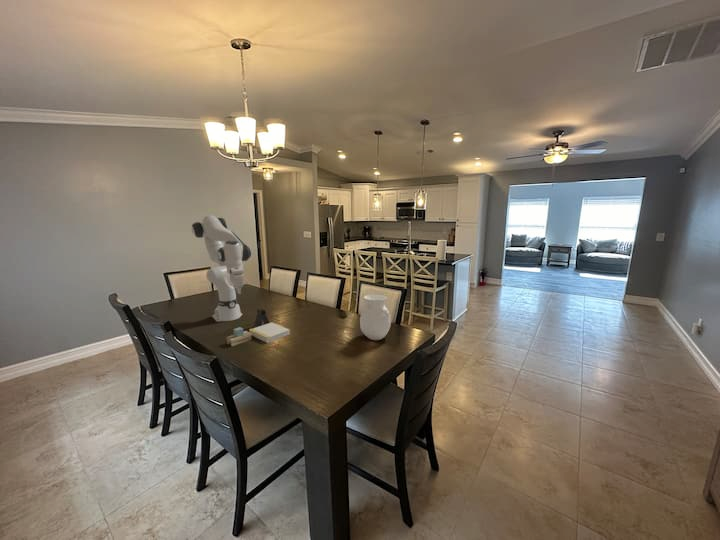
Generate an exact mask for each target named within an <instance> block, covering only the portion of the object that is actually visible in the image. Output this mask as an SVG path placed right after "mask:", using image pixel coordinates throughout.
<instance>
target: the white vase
mask: <svg viewBox="0 0 720 540" xmlns="http://www.w3.org/2000/svg"><path fill="white" fill-rule="evenodd" d="M363 301H364V302H365V303H364V305H363V310H362V311H361V313H360V318H359V323H360V324H359V325H360V326H359V327H360V330H361V332H362V333H363V335H364V336H366V337H367V338H368V339H369V340H372V341H379V340H382V339H384V338H385V337H386V336H387V334H388V332H389V331H390V329H391V325H392V318H391V315H390V311H389V308H388V307H386V303H387V296H386V295H384V294H378V293H371V294H365V295H364V296H363Z"/></svg>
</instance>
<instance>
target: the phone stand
mask: <svg viewBox="0 0 720 540" xmlns="http://www.w3.org/2000/svg"><path fill="white" fill-rule="evenodd" d="M256 312H257V313H256V318H255V322H254V325H253V326H254V328H256V327H259V326H262V325H265V324H268V323H271V322H270V321H269V319H268V316H267V314H266V313H267V312H266V310H264V309H262V308H257V310H256ZM262 323H263V324H262Z"/></svg>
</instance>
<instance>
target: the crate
mask: <svg viewBox="0 0 720 540" xmlns="http://www.w3.org/2000/svg"><path fill="white" fill-rule="evenodd" d="M244 331H245V329H244V328H243V327H240V326H238V327H237V328H233V335H234V336H236V337H240V336H243V335H244Z"/></svg>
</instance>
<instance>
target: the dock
mask: <svg viewBox="0 0 720 540" xmlns="http://www.w3.org/2000/svg"><path fill="white" fill-rule="evenodd" d="M261 325H262V324H261ZM248 332H249V333H251V337H254V338H256V339H258V340H261V341H262V342H265V343H267V344H269V343H271V342H273V341H277V340H279V339H282V338H284V337H286V336H287V337H288V336H290V335H291V330H290V329H289V328H286V327H284V326H281V325H279V324H277V323H275V322H270V323H268V324H265V325H262V326H259V327H256V328H255V327H254V328H249V329H248Z"/></svg>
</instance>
